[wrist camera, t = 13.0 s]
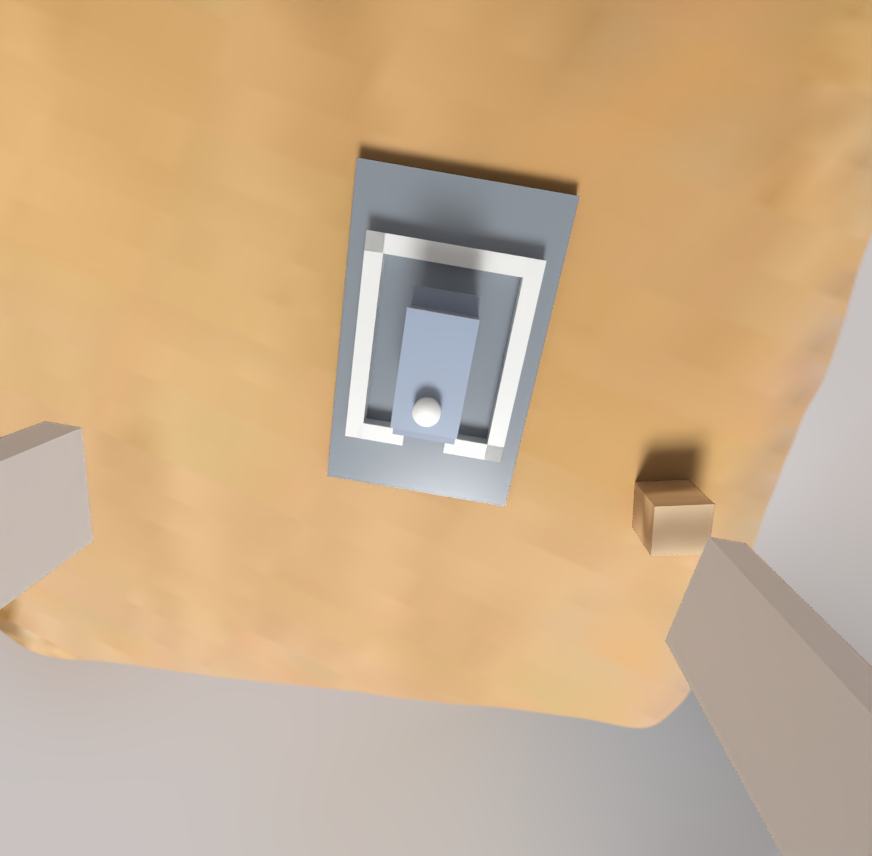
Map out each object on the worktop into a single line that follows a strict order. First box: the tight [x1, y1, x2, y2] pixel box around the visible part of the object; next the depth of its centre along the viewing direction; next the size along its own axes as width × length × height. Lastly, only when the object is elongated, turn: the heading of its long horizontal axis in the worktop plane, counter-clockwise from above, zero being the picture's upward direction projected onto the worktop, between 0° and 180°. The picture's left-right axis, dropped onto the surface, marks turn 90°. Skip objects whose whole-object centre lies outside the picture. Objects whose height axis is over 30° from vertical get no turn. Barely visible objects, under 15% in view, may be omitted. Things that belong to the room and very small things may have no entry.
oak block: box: [632, 479, 715, 556], centre depth 34 cm, size 4×4×4 cm
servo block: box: [390, 285, 482, 445], centre depth 29 cm, size 9×4×7 cm, turn 171°
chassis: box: [327, 158, 580, 506], centre depth 32 cm, size 22×14×2 cm, turn 171°
